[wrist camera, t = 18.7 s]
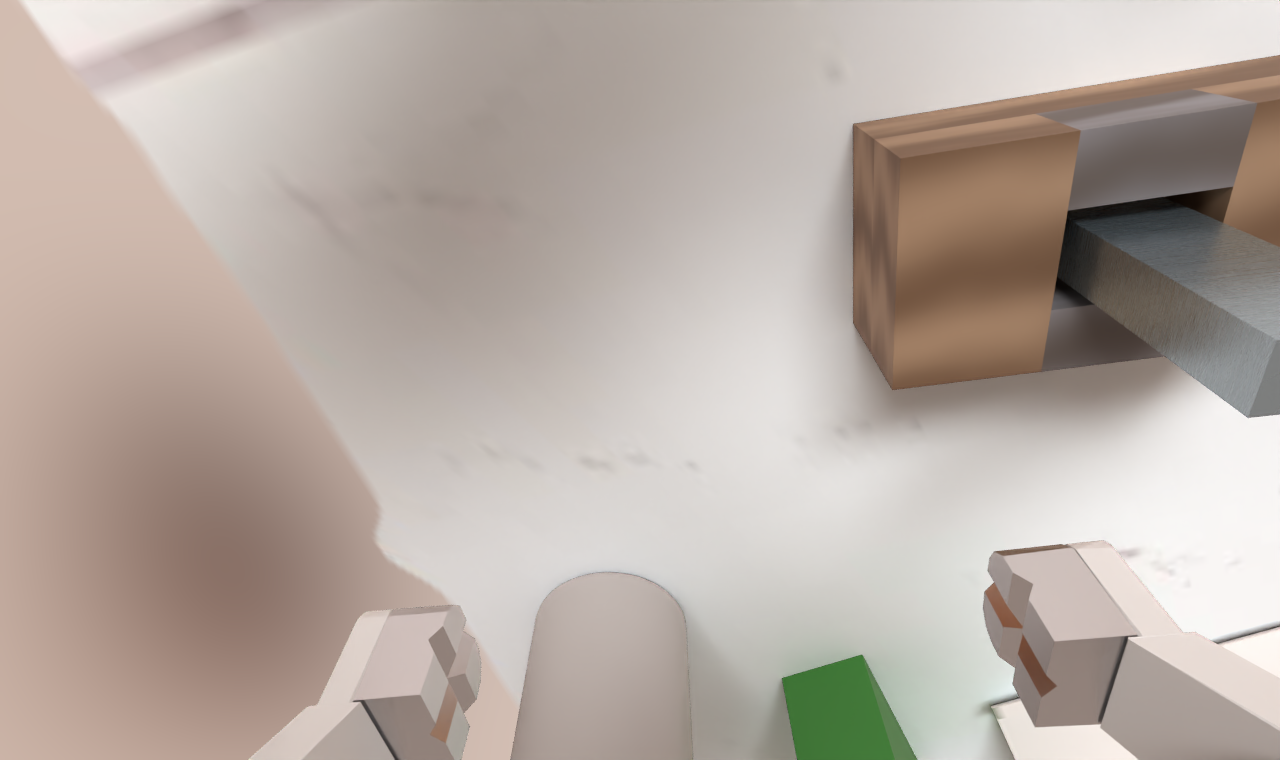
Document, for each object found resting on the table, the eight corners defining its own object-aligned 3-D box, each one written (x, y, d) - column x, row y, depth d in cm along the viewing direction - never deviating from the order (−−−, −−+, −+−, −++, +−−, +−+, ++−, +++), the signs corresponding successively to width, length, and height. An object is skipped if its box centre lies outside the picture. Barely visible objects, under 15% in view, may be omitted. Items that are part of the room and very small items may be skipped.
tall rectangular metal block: (1042, 203, 34) (1276, 340, 21) (1146, 189, 34) (1449, 319, 21) (1033, 259, 36) (1247, 417, 23) (1133, 246, 35) (1407, 400, 23)
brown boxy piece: (853, 123, 36) (900, 158, 29) (1294, 52, 34) (1456, 71, 27) (853, 323, 42) (892, 390, 35) (1228, 272, 40) (1346, 333, 33)
